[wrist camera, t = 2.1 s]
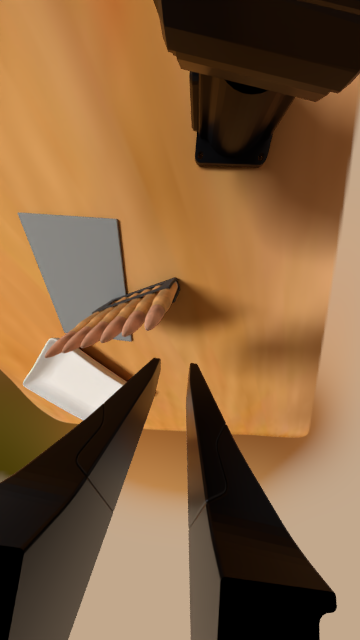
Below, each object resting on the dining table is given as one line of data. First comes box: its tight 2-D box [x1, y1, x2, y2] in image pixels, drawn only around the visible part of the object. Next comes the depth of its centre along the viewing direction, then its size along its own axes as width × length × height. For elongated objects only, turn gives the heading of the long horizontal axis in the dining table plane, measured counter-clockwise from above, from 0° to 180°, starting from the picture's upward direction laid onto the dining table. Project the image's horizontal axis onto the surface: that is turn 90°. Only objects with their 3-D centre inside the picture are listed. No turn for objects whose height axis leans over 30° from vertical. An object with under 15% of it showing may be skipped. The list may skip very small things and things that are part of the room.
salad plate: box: [23, 338, 127, 420], centre depth 31 cm, size 21×21×3 cm
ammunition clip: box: [45, 277, 180, 358], centre depth 15 cm, size 11×2×12 cm, turn 109°
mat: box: [18, 213, 132, 341], centre depth 21 cm, size 13×18×1 cm
